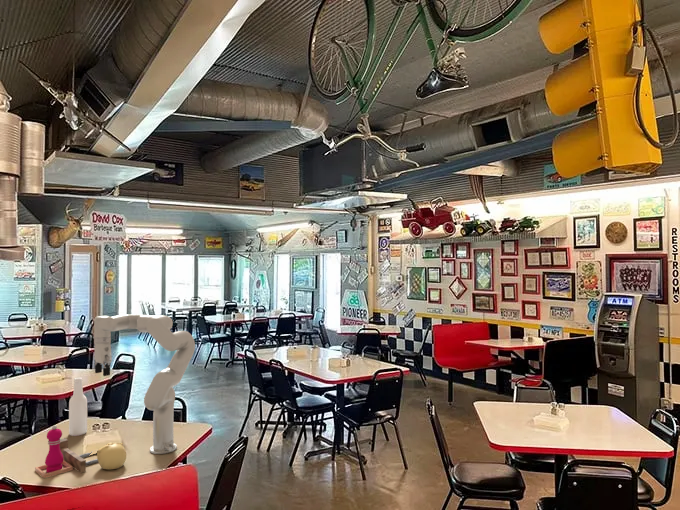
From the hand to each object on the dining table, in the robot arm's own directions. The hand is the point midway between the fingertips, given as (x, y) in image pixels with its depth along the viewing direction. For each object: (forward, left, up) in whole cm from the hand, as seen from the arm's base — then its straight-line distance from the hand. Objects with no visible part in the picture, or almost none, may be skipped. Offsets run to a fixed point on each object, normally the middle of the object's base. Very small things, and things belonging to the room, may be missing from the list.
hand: (102, 374), depth 253 cm
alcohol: (+29, +1, -36) cm, 47 cm away
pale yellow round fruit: (-30, +8, -37) cm, 48 cm away
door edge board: (-12, +19, -36) cm, 43 cm away
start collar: (-14, +11, -36) cm, 40 cm away
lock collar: (-14, +27, -36) cm, 47 cm away
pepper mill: (-14, +27, -36) cm, 47 cm away
